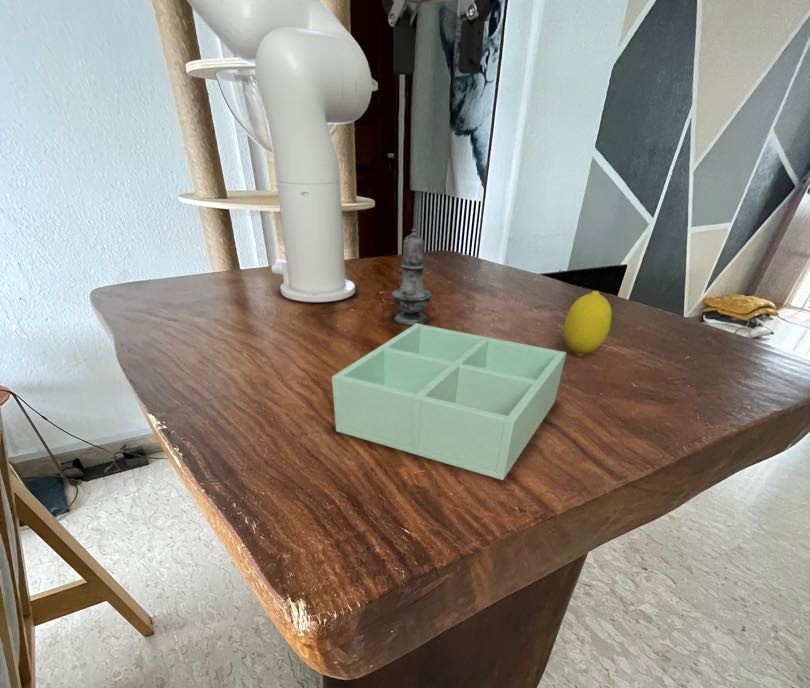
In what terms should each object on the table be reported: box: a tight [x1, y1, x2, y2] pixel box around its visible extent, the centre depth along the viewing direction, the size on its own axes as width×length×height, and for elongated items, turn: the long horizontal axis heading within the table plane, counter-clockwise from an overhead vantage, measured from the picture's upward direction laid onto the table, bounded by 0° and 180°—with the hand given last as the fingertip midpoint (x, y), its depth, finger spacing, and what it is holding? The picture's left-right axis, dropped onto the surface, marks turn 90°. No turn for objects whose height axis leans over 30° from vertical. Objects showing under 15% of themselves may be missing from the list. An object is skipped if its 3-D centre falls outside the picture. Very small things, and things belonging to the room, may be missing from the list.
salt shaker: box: [391, 226, 433, 326], centre depth 71 cm, size 6×6×12 cm
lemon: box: [563, 290, 612, 358], centre depth 62 cm, size 6×6×8 cm
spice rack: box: [331, 323, 567, 481], centre depth 50 cm, size 17×17×6 cm
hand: (435, 73), depth 57 cm, fingers open, 9 cm apart
